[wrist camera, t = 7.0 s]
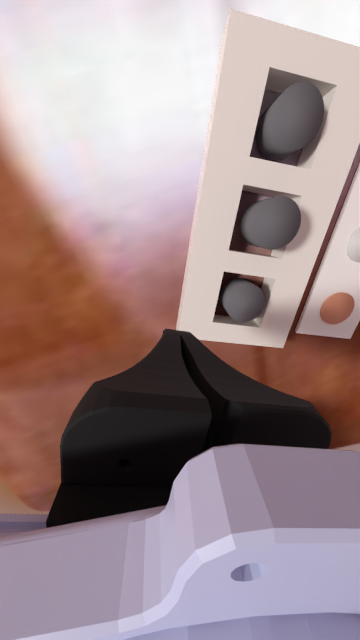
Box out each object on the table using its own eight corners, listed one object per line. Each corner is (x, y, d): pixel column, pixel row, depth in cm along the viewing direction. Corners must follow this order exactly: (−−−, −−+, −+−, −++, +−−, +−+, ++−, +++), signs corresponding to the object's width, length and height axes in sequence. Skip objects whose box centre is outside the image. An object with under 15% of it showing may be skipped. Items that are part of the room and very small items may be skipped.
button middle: (274, 249, 18) (291, 252, 15) (236, 243, 17) (247, 245, 15) (287, 204, 16) (308, 200, 14) (246, 196, 16) (261, 191, 14)
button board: (273, 338, 22) (283, 348, 21) (176, 327, 21) (177, 337, 19) (363, 77, 15) (391, 57, 13) (221, 37, 14) (231, 8, 12)
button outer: (291, 164, 16) (312, 154, 14) (250, 155, 16) (265, 143, 14) (307, 109, 15) (332, 88, 13) (263, 98, 15) (282, 75, 13)
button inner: (248, 313, 21) (259, 323, 19) (216, 309, 21) (222, 319, 18) (258, 280, 20) (270, 287, 17) (223, 275, 19) (231, 281, 17)
